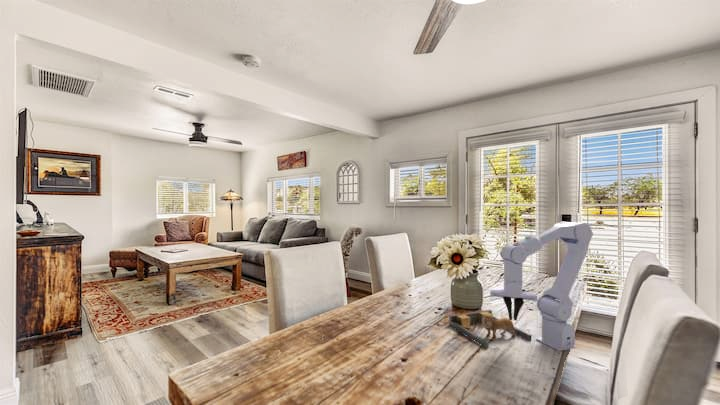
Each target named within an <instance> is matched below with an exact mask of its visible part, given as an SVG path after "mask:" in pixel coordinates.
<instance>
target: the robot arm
mask: <svg viewBox="0 0 720 405" xmlns="http://www.w3.org/2000/svg"><path fill="white" fill-rule="evenodd" d="M593 235H594V232H593V231H592V228H591V226H590V224H588V223H586V222H571V221H566V220H565V221H563V220H562V221H559V222H557V223H554V224H553V226H551V228H549V229H547V230H545V231H544V232H542V233H540V234H539V235H536V236H534V235H526V236H525V235H524V236H525V237H524V238H523V239H521V240H519V241H514V243H513V244H507V245H504V247H503V248H502V249H501V252H499V255H500V257H501V259H502V262H503V263H502V264H503V290H501V289H490V290H489V295H490V298H495V297H496V298H503V303H504V304H505V306H506V309H507V311H508V312H507V313H508V319H510V320H511V321H518V316H519V313H520V311H521V309H522V307H523V306H524V303H525V302H524V301H525V300H527V301H533V302H536V307H537V309H538V310H539V312H540V315H541V336H539V337H536V338H535V340H536V341H538V342H540V343H543V344H544V345H547V346H548V347H551V348H553V349H555V350H556V351H560V352H562V351H561V350H563V351H567V350H573V349H576V348H577V346H576V345H575V343H576V341H575V340H576V338H575V336H576V334H575V331H576V330H575V327H574V326H573V324H571V323H569V322H568V321H569V320H570V318H571V316H572V313H573V312H572V311H573V310H572V309H573V306H574V302H573V300H572V299H571V297H570V293H571V290H573V287H574V283H575V282H576V279H577V277H578V275H579V272H580V269H582V268H581V267H582V265H583V262H584V260H585V258H586V256H587V254H588V251H589V245H590V242H591V240H592V238H593ZM558 239H559V240H561V242H562V243H563V245H565V246H566V247H567V251H566V254H565V256H564V259H563V260H562V263H561V265H560V268H559V270H558V272H557V273H556V274H557V275H556V277H555V278H554V281H553V283H552V286H551V288H548V289H546V290H544V291H543V293H542V295H540V296H539V297H538V295H537V294H535V293H529V292H523V263H525V262H526V260H527V258H528V257H530V256H531V255H533V254H535V253H537V252H539V251H541V250H542V248H543V245H546V244H549V243H551V242H553V241H555V240H558ZM512 299H513V301H512ZM512 306H513V307H514V308H513V312H512ZM512 319H513V320H512Z"/></svg>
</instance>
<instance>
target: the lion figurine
mask: <svg viewBox="0 0 720 405" xmlns="http://www.w3.org/2000/svg"><path fill="white" fill-rule="evenodd" d="M494 317H495V316H494V315H493V316H491V315H490V314H484V315H483V316H482V324H481V325H482V326H483V328H484V329H485V330H487V334H486V335H487V337H490V336H491V335H492V337H491V339H492V338H493V339H492V340H496V339H497V338H496V337H497V336H496V334H497V330H502V329H503V331H502V332H500V335H502V336H503V335H505V334H506V333H507V331H509V332H510V333H512V335H511V337H512V338H513V339H514V338H516V334H515V331H514V327H515V326H514V323H513V320H510V319H509V317H508V318H507V317H502V318H498V319H495V318H494ZM513 326H514V327H513ZM506 328H507V329H508V330H507V329H506ZM491 331H492V334H491Z"/></svg>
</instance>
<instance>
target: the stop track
mask: <svg viewBox="0 0 720 405" xmlns="http://www.w3.org/2000/svg"><path fill="white" fill-rule="evenodd" d="M484 314H490V315H491V316H493V317H494V318H495V319H499V318H497V317H496V316H494V315H493V311H492V310H490V309H486V310H485V309H484V310H479V311H478V310H477V311H471V312H465V313H455V314H449V315H448V326H450V325H451V326H453V327H454V328H456V329H457V330H459V331H460V332H459V331H458V332H459V333H461V332H462V333H464V334H465V335H467V336H468V337H470V338H471V339H473V340H475V341H476V342H478V343H479V344H481V345H482V346H484V347H485V348H484V347H483V348H484V349H488V348H487V347H489V341H487V340H485V339H484V338H482V337H481V336H479V335H477V334H476V333H474V332H472V331H470V330H469V329H468V328H466V327H470V328H471V324H470V323H472V324H477V322H479V324H481V325H483V324H482V316H483V315H484ZM451 326H450V327H451ZM453 327H452V328H453ZM513 327H514V331H515V335H517V336H518V337H521V338H523V339H525V340H527V341H528V342H530V341H532V334H531V333H529V332H526V331H524V330H522V329H521V328H518V327H516V326H514V325H513ZM454 328H453V329H454ZM456 329H455V330H456ZM457 330H456V331H457ZM506 330H507V331H509V330H508V329H507V328H506ZM462 333H461V334H462ZM464 334H463V335H464ZM465 335H464V336H465ZM467 336H466V337H467ZM468 337H467V338H468ZM470 338H469V339H470ZM471 339H470V340H471ZM473 340H472V341H473ZM475 341H474V342H475ZM476 342H475V343H476ZM478 343H477V344H478ZM479 344H478V345H479ZM481 345H480V346H481ZM482 346H481V347H482Z"/></svg>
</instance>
